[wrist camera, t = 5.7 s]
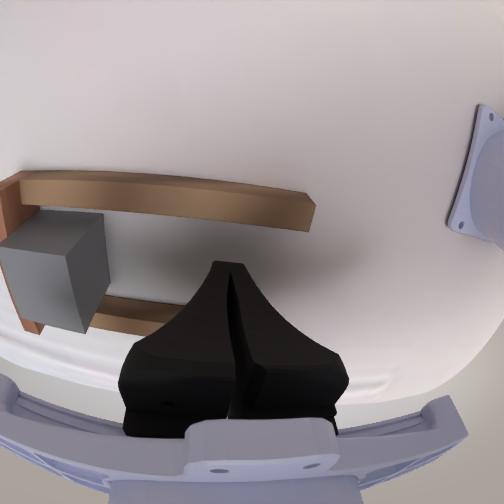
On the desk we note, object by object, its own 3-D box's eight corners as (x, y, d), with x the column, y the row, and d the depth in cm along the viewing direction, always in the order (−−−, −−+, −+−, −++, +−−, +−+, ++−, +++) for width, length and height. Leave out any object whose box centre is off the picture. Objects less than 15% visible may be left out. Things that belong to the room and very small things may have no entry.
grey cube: (103, 213, 12) (65, 256, 8) (111, 281, 14) (85, 334, 10) (41, 209, 11) (-4, 245, 8) (53, 272, 13) (21, 317, 10)
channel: (306, 193, 12) (328, 220, 9) (269, 328, 16) (276, 368, 13) (20, 171, 10) (-16, 191, 7) (45, 298, 14) (24, 330, 11)
